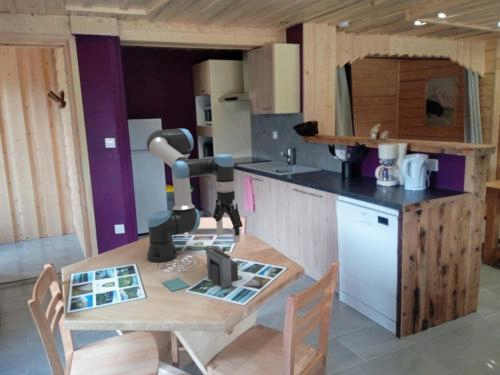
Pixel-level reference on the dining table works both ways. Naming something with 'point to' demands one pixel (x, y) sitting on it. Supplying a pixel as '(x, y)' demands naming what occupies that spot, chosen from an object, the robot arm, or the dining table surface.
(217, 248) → the mechanical component
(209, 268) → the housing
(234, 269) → the plug
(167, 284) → the mat
